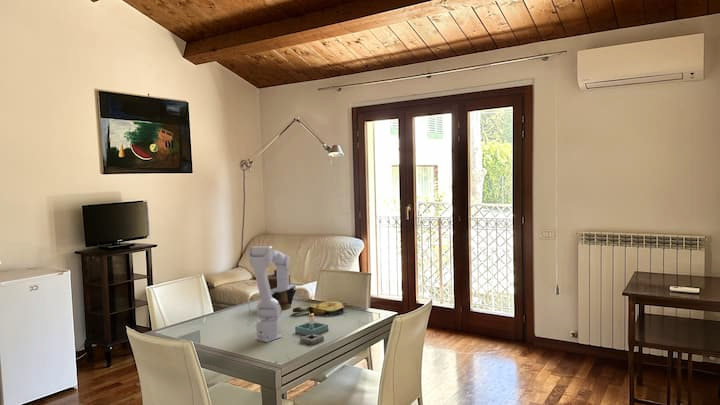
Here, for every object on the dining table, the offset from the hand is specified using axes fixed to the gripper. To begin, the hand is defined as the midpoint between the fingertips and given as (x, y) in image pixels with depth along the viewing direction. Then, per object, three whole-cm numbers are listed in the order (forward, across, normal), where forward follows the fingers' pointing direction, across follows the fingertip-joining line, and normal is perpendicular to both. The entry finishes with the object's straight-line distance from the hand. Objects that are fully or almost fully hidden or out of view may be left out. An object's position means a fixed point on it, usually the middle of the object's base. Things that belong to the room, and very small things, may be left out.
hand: (283, 305), depth 243 cm
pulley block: (+11, +28, +4) cm, 30 cm away
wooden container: (+11, +21, +32) cm, 40 cm away
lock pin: (+10, +2, -18) cm, 21 cm away
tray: (+10, +2, -18) cm, 21 cm away
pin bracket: (+10, -7, -28) cm, 31 cm away
